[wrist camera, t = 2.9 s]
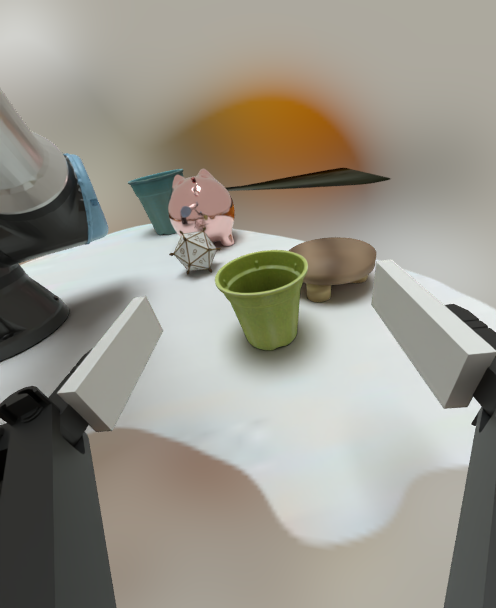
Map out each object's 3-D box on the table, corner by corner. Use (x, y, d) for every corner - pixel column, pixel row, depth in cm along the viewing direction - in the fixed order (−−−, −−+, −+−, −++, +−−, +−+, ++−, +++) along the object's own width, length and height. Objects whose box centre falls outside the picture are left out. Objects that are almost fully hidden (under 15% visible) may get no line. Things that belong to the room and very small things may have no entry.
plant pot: (218, 351, 28) (195, 288, 23) (254, 305, 34) (242, 248, 29) (295, 373, 23) (287, 301, 18) (320, 315, 30) (319, 250, 25)
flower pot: (187, 234, 70) (167, 174, 61) (140, 240, 75) (115, 184, 66) (205, 218, 83) (191, 166, 74) (164, 224, 88) (146, 175, 79)
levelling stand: (292, 310, 32) (289, 280, 29) (284, 269, 41) (281, 244, 39) (387, 298, 30) (393, 266, 28) (355, 258, 40) (357, 232, 37)
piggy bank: (232, 226, 69) (218, 164, 60) (247, 245, 54) (232, 166, 46) (180, 240, 67) (158, 177, 59) (181, 263, 53) (152, 184, 44)
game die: (214, 281, 51) (232, 237, 48) (198, 289, 43) (219, 236, 40) (178, 262, 51) (193, 217, 48) (155, 267, 43) (172, 213, 40)
